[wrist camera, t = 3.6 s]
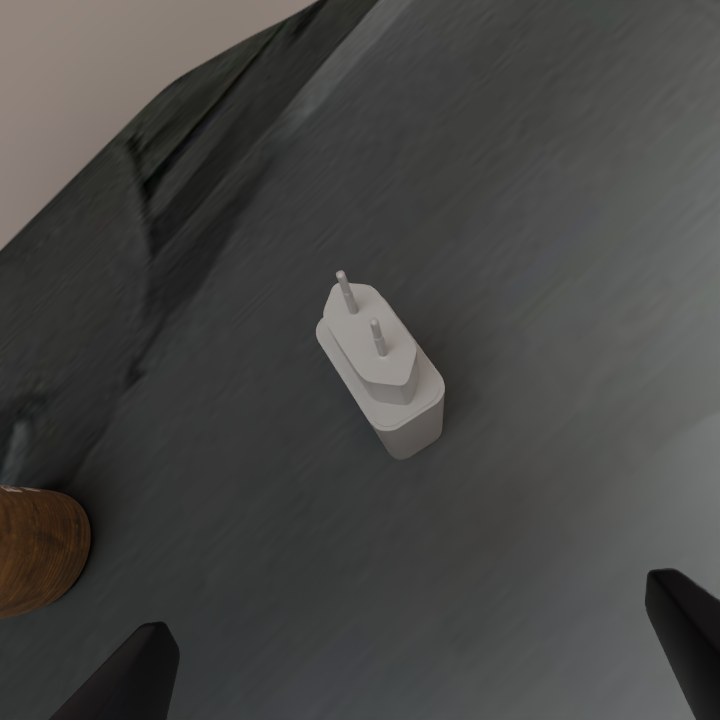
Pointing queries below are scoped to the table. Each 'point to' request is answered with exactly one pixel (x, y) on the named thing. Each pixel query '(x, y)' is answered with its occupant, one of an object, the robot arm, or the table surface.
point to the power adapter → (382, 368)
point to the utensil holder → (39, 547)
